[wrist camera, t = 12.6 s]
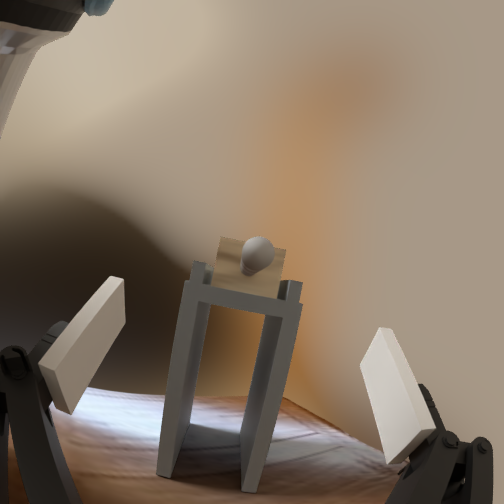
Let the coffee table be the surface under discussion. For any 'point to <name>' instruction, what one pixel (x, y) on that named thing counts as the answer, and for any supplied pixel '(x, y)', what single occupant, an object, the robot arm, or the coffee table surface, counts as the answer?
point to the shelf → (264, 376)
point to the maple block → (249, 266)
